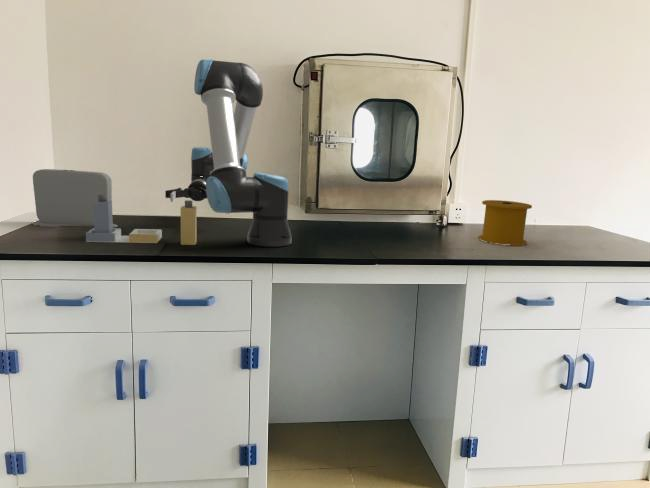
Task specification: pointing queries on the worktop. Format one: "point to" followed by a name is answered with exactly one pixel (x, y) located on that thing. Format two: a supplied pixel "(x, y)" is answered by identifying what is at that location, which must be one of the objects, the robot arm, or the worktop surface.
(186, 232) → the ochre plug
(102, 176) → the grey upright panel
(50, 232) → the worktop surface
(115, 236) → the slot rack
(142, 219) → the worktop surface
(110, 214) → the blue-grey bottle
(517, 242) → the spool
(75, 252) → the worktop surface
